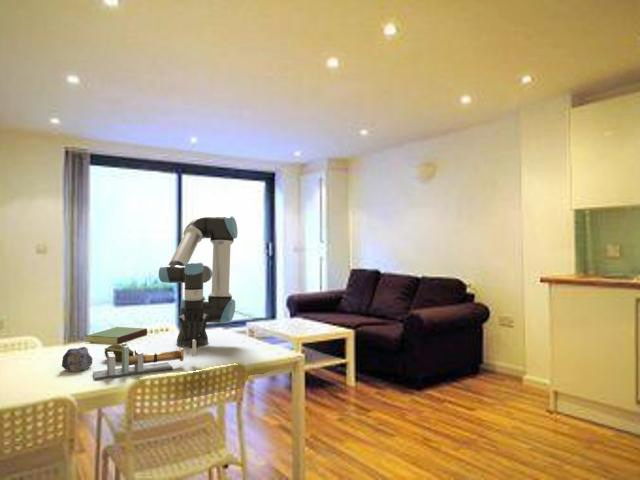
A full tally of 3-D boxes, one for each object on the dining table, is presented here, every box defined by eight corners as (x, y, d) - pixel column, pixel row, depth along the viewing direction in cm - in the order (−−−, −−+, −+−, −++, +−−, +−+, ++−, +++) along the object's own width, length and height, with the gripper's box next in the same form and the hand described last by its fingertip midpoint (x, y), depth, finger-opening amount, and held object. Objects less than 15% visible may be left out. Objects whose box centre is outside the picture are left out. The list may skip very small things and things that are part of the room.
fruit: (104, 365, 189) (104, 349, 189) (104, 358, 200) (104, 343, 200) (134, 362, 194) (134, 346, 194) (132, 355, 205) (132, 341, 205)
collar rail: (92, 374, 176) (93, 345, 177) (167, 364, 190) (167, 338, 190) (94, 380, 169) (94, 350, 169) (172, 370, 183) (172, 342, 183)
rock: (67, 359, 189) (76, 339, 187) (90, 370, 189) (99, 350, 187) (51, 372, 178) (61, 351, 176) (76, 383, 179) (85, 363, 177)
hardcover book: (118, 345, 228) (118, 337, 228) (85, 343, 232) (85, 335, 232) (147, 335, 252) (147, 328, 252) (118, 333, 256) (118, 326, 256)
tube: (127, 366, 181) (127, 352, 181) (180, 359, 191) (180, 347, 191) (128, 369, 176) (128, 355, 176) (183, 362, 187) (183, 349, 187)
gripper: (180, 301, 185) (179, 359, 185) (211, 299, 191) (211, 355, 191) (175, 299, 191) (175, 355, 191) (206, 297, 198) (206, 352, 198)
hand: (193, 355), depth 191 cm, fingers closed
